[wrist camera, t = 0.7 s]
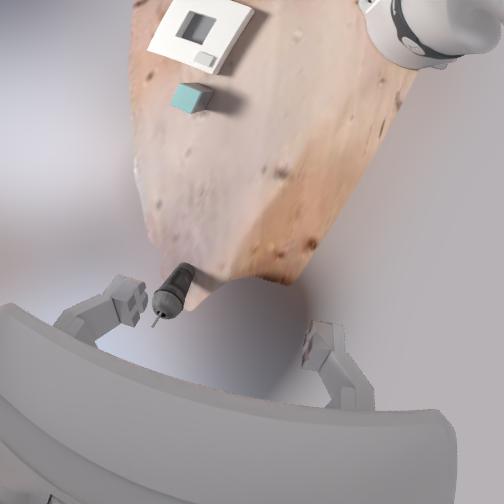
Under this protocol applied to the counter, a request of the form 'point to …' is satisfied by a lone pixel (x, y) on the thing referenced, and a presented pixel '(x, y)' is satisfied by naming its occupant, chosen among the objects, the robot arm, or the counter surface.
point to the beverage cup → (173, 293)
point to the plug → (191, 97)
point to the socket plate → (200, 32)
